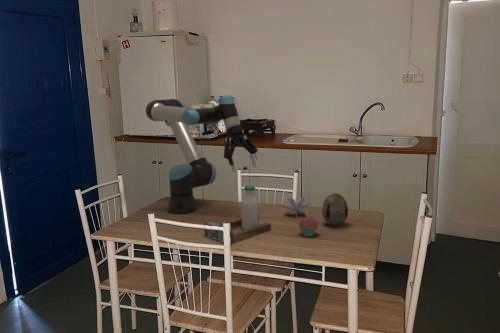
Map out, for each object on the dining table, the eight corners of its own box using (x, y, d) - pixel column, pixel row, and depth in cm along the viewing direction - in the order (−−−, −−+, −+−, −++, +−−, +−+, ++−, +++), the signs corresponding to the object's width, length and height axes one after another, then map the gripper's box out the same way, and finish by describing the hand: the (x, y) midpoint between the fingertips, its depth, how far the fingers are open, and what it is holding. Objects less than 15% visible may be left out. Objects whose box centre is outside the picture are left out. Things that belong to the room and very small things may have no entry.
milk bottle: (257, 231, 200) (256, 188, 196) (240, 231, 201) (239, 187, 198) (260, 226, 207) (259, 184, 203) (243, 225, 209) (243, 183, 205)
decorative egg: (317, 225, 207) (317, 194, 204) (330, 219, 215) (331, 189, 212) (339, 231, 199) (340, 198, 196) (352, 224, 208) (353, 193, 205)
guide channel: (204, 235, 196) (204, 222, 195) (246, 222, 213) (246, 210, 212) (229, 244, 185) (228, 230, 184) (270, 229, 202) (270, 217, 201)
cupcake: (295, 232, 198) (295, 206, 196) (312, 230, 201) (312, 204, 199) (304, 239, 190) (304, 211, 188) (322, 236, 193) (322, 209, 191)
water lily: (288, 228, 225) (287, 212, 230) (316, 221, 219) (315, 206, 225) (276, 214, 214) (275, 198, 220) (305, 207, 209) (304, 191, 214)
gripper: (218, 127, 206) (231, 171, 204) (256, 122, 223) (268, 163, 221) (208, 132, 211) (221, 175, 210) (247, 126, 228) (258, 166, 227)
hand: (245, 169), depth 215 cm, fingers open, 13 cm apart
